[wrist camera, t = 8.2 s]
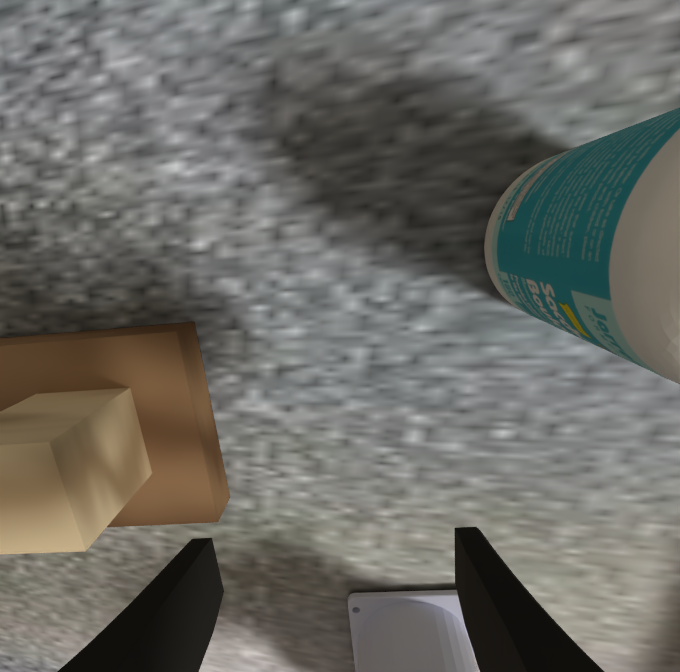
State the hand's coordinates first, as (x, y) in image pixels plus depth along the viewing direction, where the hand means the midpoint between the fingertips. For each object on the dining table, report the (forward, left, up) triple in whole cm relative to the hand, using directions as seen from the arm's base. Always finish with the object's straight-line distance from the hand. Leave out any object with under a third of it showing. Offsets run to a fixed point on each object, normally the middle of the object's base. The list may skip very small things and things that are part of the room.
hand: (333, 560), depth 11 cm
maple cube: (0, +13, -8) cm, 15 cm away
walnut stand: (0, +13, -10) cm, 16 cm away
